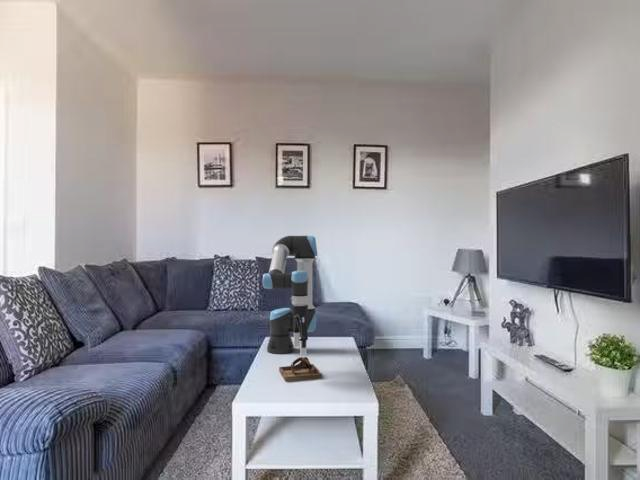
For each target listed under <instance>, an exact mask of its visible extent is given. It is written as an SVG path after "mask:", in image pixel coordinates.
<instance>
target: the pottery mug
mask: <svg viewBox="0 0 640 480" xmlns="http://www.w3.org/2000/svg"><path fill="white" fill-rule="evenodd" d="M311 364H312V363H311V362H310V359H309V358H308V357H307V356H305V357H303V356H301V357H298V358H296V359H295V360H293V361H292V363H291V364H290V366H291V371H292V372H293V373H294V371H298V370H299V371H300V366H301V367H304V369H308V368H309V371H310V372H311V374H313V369H312V366H311Z"/></svg>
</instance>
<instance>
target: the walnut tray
mask: <svg viewBox="0 0 640 480" xmlns="http://www.w3.org/2000/svg"><path fill="white" fill-rule="evenodd" d="M310 364H311V366H312V369H313V374H311V372H310V371H309V368H308V369H304V367H301V366H300V371H299V370H298V371H294V373H293V372H292V371H291V365H287V366H279V367H278V372H279V373H280V375H281V377H282V378H283V380H284V382H285V383H288V382H299V381H308V380H309V381H310V380H319V379H323V374H322V372H321V371H320V370H319V369H318V368H317V367H316V365H315V364H313V363H310Z"/></svg>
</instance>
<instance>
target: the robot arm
mask: <svg viewBox="0 0 640 480" xmlns="http://www.w3.org/2000/svg"><path fill="white" fill-rule="evenodd" d="M316 240H317V239H316V237H315V236H314V235H287V236H284V237H281V238H280V239H279V240H277V241H276V242H275V243H274V245H273V247H272V248H271V253H272V254H271V255H272V256H271V257H272V258H271V262H270V265H269V269H268V270H269V271H268V273H263V274H262V288H264V289H267V290H291V297H290V300H291V304H292V305H291V308H290V307H282V308H276V309H273V310H272V311H270V313H269V339H268V342H267V346H266V352H267V353H269V354H276V355H277V354H278V355H281V354H289V353H292V352H294V351H295V348H298V347H299V348H300V349H299V351H300V352H299V355H300V356H304V355H305V356H306V355H307V349H308V348H307V341H308V340H309V338H308V333H309V332H311V333H312V332H314V331H316V328H317V327H316V326H317V319H318V313H319V311H318V310H316V307H315V306H314V305H313V262H314V261H315V260H316V257H318V248H317V241H316ZM288 257H294V260H295V261H296V262H297V263H296V265H297V266H296V267H297V270H294V271H292V272H291V273H288V272H287V273H286V272H285V270H286V265H287V264H286V263H287V258H288ZM292 332H293V339H292Z"/></svg>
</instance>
